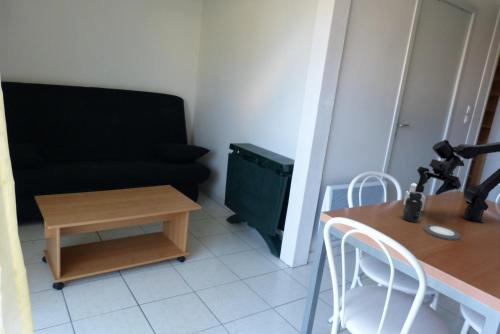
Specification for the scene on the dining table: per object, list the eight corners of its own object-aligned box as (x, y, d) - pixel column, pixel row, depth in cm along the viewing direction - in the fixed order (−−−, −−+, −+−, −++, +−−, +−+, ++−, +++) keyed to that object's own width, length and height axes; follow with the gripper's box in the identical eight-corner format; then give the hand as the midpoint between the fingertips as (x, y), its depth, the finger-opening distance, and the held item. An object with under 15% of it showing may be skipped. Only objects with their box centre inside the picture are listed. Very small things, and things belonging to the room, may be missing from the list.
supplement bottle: (420, 223, 155) (426, 197, 152) (403, 221, 156) (409, 194, 153) (416, 218, 162) (422, 192, 159) (400, 215, 163) (405, 190, 160)
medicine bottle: (417, 206, 180) (422, 183, 177) (423, 211, 173) (428, 187, 170) (403, 204, 180) (407, 181, 178) (407, 209, 173) (412, 185, 171)
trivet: (448, 228, 153) (449, 226, 153) (466, 241, 140) (467, 239, 140) (418, 225, 152) (418, 223, 152) (433, 238, 140) (433, 235, 140)
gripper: (424, 149, 166) (402, 173, 163) (463, 158, 150) (440, 185, 147) (431, 165, 172) (411, 189, 169) (470, 176, 156) (448, 202, 153)
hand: (426, 190), depth 159 cm, fingers open, 9 cm apart
